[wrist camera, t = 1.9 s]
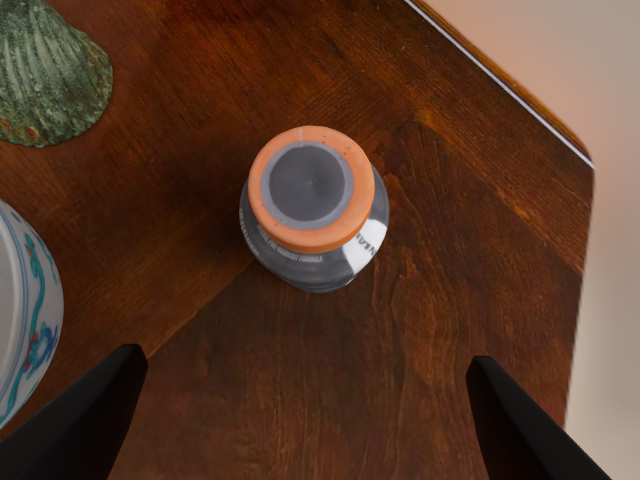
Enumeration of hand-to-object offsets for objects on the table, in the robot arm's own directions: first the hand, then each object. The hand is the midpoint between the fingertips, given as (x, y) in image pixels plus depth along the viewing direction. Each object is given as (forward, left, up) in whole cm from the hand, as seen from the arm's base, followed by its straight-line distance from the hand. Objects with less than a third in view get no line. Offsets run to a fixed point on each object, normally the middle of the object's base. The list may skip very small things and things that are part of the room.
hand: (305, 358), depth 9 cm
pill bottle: (+5, +1, -12) cm, 13 cm away
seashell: (+13, +22, -12) cm, 28 cm away
